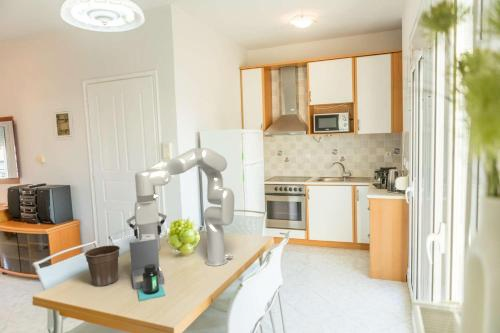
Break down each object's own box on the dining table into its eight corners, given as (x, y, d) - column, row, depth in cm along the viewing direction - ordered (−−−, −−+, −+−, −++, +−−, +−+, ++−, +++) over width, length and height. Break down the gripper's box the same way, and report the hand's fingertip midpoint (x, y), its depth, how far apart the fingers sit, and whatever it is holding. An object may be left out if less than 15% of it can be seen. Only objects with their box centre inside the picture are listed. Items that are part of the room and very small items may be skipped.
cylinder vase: (135, 252, 211) (133, 213, 209) (148, 246, 222) (146, 209, 220) (151, 254, 206) (149, 214, 204) (164, 248, 218) (161, 210, 216)
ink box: (139, 261, 195) (137, 236, 194) (142, 258, 200) (141, 234, 199) (153, 261, 194) (151, 236, 193) (156, 258, 199) (154, 233, 198)
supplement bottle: (158, 293, 149) (157, 267, 148) (143, 295, 148) (141, 269, 147) (159, 287, 156) (158, 262, 155) (144, 289, 155) (142, 264, 154)
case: (159, 269, 180) (157, 239, 179) (164, 283, 162) (162, 249, 161) (131, 274, 175) (129, 242, 174) (134, 289, 157) (131, 254, 155)
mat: (162, 286, 159) (161, 284, 159) (165, 295, 149) (165, 294, 149) (137, 291, 155) (137, 289, 155) (139, 301, 145) (139, 299, 145)
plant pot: (82, 290, 158) (79, 257, 157) (91, 277, 174) (89, 247, 173) (118, 286, 161) (116, 253, 160) (124, 273, 177) (122, 243, 176)
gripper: (163, 195, 156) (166, 231, 158) (124, 199, 150) (127, 236, 151) (166, 197, 149) (168, 235, 151) (125, 202, 143) (128, 241, 144)
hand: (148, 236), depth 151 cm, fingers open, 9 cm apart
